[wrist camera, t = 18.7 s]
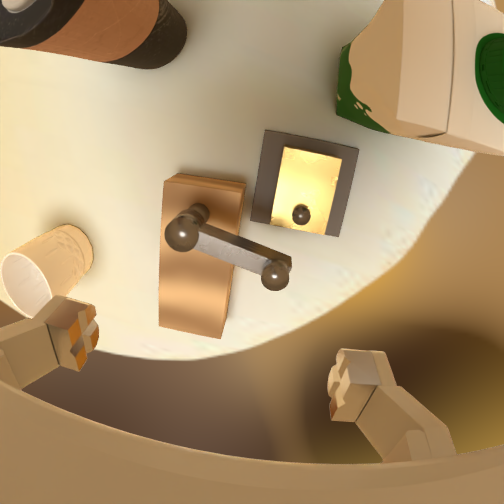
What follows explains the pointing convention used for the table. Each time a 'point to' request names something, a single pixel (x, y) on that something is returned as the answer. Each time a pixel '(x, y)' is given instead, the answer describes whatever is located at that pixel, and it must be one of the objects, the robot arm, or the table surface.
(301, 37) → the table surface
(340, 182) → the rubber mat
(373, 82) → the milk carton
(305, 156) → the gold block with knob
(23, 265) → the white cup
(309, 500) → the robot arm
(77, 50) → the travel mug
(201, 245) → the lever
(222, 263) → the plane body
